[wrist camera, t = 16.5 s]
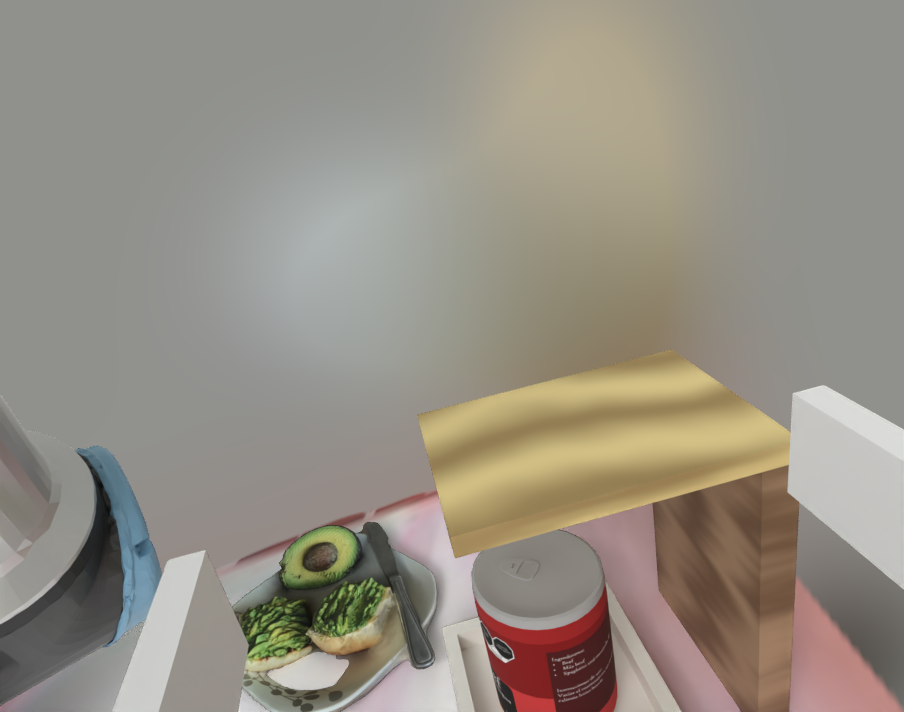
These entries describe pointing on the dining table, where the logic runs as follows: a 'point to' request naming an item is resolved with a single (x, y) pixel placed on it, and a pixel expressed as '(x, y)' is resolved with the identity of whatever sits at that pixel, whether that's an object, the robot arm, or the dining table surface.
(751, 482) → the wooden l-shaped stand
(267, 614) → the salad plate
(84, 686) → the dining table surface
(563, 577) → the canned food
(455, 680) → the shallow square white tray
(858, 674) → the dining table surface
